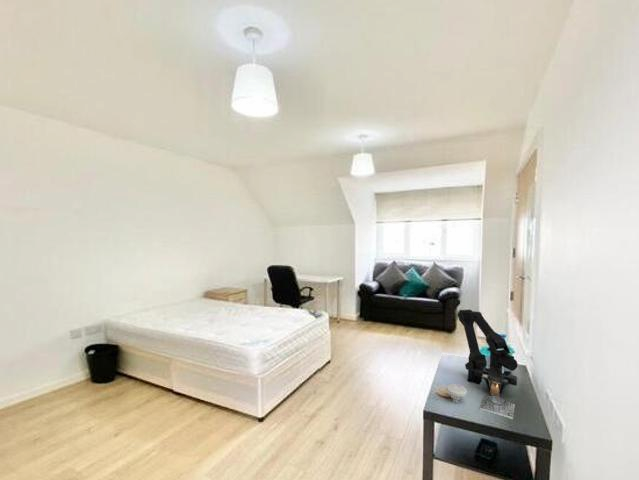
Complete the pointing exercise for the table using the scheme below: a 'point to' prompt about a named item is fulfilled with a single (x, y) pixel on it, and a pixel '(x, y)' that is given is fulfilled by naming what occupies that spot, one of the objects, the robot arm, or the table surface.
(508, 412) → the clear glass tray
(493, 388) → the pipe stub
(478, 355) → the robot arm
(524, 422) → the table surface
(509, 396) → the table surface
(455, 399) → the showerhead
